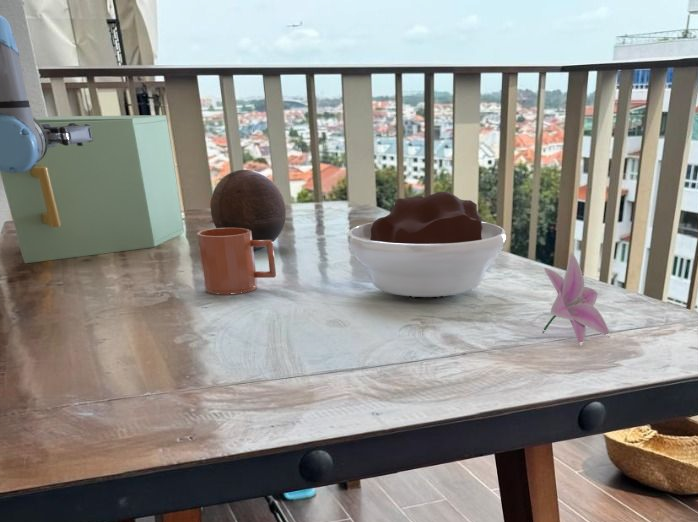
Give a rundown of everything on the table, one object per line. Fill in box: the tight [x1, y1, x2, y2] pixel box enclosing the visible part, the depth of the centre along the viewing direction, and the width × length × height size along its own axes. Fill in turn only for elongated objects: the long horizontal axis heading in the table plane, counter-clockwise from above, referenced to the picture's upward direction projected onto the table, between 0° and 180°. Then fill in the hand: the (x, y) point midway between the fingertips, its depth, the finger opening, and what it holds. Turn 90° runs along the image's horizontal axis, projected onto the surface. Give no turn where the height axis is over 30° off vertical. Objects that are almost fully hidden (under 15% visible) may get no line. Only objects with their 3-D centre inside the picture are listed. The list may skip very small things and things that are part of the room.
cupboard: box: [34, 114, 185, 248], centre depth 163 cm, size 18×26×24 cm
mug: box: [196, 227, 277, 296], centre depth 125 cm, size 12×9×9 cm
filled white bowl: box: [347, 191, 507, 299], centre depth 119 cm, size 25×25×15 cm
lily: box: [542, 252, 611, 349], centre depth 99 cm, size 12×12×10 cm
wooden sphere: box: [210, 169, 287, 251], centre depth 153 cm, size 15×15×15 cm
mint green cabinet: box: [0, 120, 155, 264], centre depth 145 cm, size 7×26×24 cm, turn 127°
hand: (34, 132), depth 136 cm, fingers open, 13 cm apart
